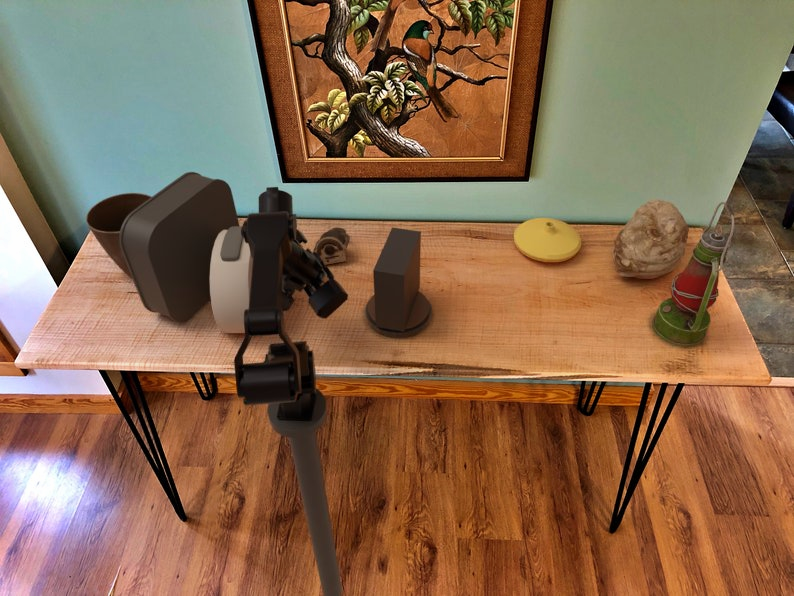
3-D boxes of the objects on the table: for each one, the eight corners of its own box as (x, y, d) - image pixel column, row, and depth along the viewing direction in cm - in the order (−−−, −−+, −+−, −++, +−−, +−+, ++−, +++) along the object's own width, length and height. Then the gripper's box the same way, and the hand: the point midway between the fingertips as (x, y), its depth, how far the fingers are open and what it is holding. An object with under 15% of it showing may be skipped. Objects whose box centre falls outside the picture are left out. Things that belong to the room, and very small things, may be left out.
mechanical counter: (297, 244, 142) (334, 246, 138) (322, 210, 150) (358, 211, 146) (308, 267, 147) (344, 270, 143) (331, 233, 155) (366, 235, 150)
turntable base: (431, 339, 127) (431, 334, 126) (362, 337, 128) (362, 332, 127) (431, 293, 138) (431, 288, 136) (368, 291, 138) (368, 286, 137)
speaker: (176, 332, 129) (141, 235, 112) (144, 319, 132) (105, 223, 115) (247, 263, 146) (226, 170, 129) (218, 253, 149) (194, 160, 132)
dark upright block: (359, 325, 128) (355, 267, 117) (377, 282, 138) (375, 224, 127) (421, 337, 125) (422, 278, 115) (435, 291, 135) (437, 233, 125)
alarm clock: (258, 346, 126) (241, 272, 113) (222, 346, 126) (200, 272, 113) (275, 278, 142) (261, 205, 128) (242, 278, 142) (225, 205, 129)
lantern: (645, 304, 134) (687, 185, 114) (695, 306, 133) (747, 187, 113) (659, 352, 124) (708, 230, 104) (714, 355, 123) (775, 233, 103)
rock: (682, 295, 136) (705, 240, 126) (608, 288, 138) (624, 233, 128) (669, 246, 149) (689, 192, 139) (602, 240, 151) (616, 187, 141)
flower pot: (174, 243, 152) (157, 187, 141) (178, 281, 141) (160, 224, 130) (110, 256, 148) (86, 199, 138) (109, 296, 138) (84, 238, 127)
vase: (593, 253, 147) (599, 229, 142) (544, 278, 141) (549, 253, 136) (546, 221, 157) (550, 197, 152) (498, 243, 150) (501, 219, 146)
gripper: (230, 253, 111) (279, 283, 125) (276, 326, 102) (324, 349, 115) (274, 211, 110) (319, 245, 124) (326, 281, 101) (368, 309, 114)
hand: (331, 287), depth 119 cm, fingers closed
